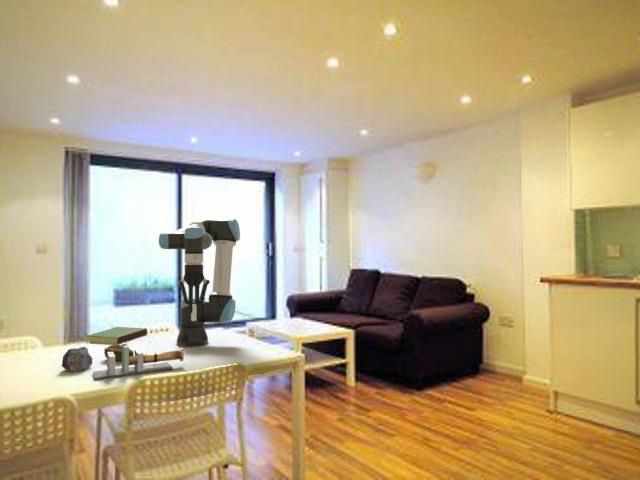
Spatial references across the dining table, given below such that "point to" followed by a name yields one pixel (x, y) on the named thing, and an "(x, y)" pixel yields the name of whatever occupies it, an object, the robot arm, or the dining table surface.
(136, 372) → the collar rail
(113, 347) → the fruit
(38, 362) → the dining table surface
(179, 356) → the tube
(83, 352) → the rock
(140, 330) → the hardcover book
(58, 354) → the dining table surface
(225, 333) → the dining table surface
